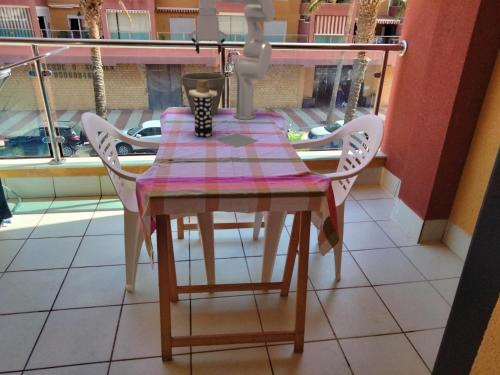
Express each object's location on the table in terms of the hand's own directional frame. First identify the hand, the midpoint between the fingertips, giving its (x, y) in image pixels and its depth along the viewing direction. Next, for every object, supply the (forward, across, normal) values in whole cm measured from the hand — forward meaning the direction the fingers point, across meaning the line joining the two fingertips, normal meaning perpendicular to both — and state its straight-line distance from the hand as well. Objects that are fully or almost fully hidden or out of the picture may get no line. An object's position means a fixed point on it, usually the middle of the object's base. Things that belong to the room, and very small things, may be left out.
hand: (208, 53), depth 173 cm
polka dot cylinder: (+37, +3, +11) cm, 38 cm away
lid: (+17, +2, +11) cm, 20 cm away
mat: (+37, -13, +18) cm, 43 cm away
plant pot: (+38, +6, -33) cm, 50 cm away
